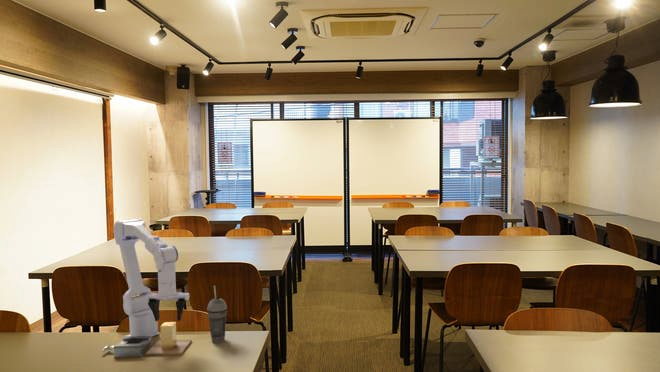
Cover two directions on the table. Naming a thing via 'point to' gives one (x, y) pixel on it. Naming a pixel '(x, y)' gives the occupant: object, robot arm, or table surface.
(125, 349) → the vise
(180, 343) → the board
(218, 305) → the beverage cup
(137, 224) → the robot arm
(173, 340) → the peg
